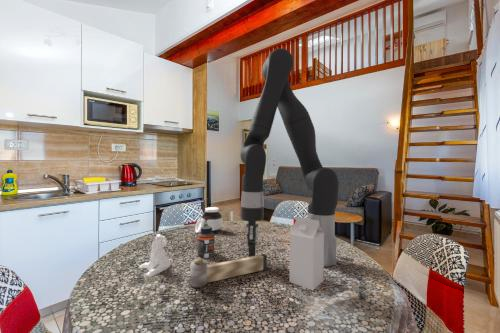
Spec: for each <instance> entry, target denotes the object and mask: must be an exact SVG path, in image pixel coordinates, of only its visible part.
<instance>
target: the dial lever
mask: <svg viewBox="0 0 500 333" xmlns="http://www.w3.org/2000/svg"><path fill="white" fill-rule="evenodd" d="M267 256H268V255H267V254H265V253H262V254H258V255H257V254H256V255H255V256H252V257H249V256H247V257H242V258H237V259H233V260H227V261H221V262H215V263H212V264H208V261H207V260H205V259H204V258H201V257H199V258H195V259H194V260H192V261H191V262H190V277H189V278H190V286H191V287H193V288H202V287H204V286H206V285H207V284H208V283H211V282H213V283H214V282H218V281H221V280H226V279H230V278H234V277H239V276H242V275H247V274H251V273H256V272H260V271H265V270H267V268H268V267H267V266H268V257H267Z"/></svg>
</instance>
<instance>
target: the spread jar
mask: <svg viewBox="0 0 500 333" xmlns="http://www.w3.org/2000/svg"><path fill="white" fill-rule="evenodd" d="M204 210H205V211H204V213H203V214H202V216H201V218H198V219H197V220H196V222H195V226H194V228H195V229H194V230H195V233H197V234H199V233H201V227H203V226H211V227H212V232H213V233H214V234H217V233H218V232H220V231H221V230H222V228H223V216H222V214H221V213H220V209H219V207H216V206H212V207H211V206H210V207H209V206H208V207H205V208H204Z"/></svg>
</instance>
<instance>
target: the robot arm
mask: <svg viewBox="0 0 500 333" xmlns="http://www.w3.org/2000/svg"><path fill="white" fill-rule="evenodd" d="M293 69H294V58H293V55H292V53H291V52H290V51H289V50H287V48H281V47H280V48H279V47H278V48H276V49H274V50H272V51H271V52H270V53H269V54H268V56H267V58H266V59H265V61H264V62H263V64H262V69H261V72H262V76H263V78H264V81H265V82H264V85H263V89H262V91H261V94H260V97H259V99H258V102H257V105H256V107H255V108H254V109H255V110H254V111H253V115H252V118H251V123H250V126H249V129H248V133H247V135H246V137H245V140H244V142H243V145H242V147H241V150H240V160H241V161H242V163H243V164H244V166H245V167H244V174H243V175H242V178H241V196H240V218H241V220H243V221H246V222H248V223H246V226H245V232H246V240H247V241H246V242H247V247H248V257H252V256H256V247H257V240H258V232H259V223H257V222H261V221H262V220H264V216H265V214H264V212H265V211H264V210H265V201H264V200H265V198H264V176H265V170H266V164H267V154H266V151H265V148H264V144H265V142H266V140H268V139H269V137H270V135H271V131H272V128H273V127H272V126H273V124H274V120H275V117H276V112H277V109H278V112H279V115H280V117H281V119H282V123H283V125H284V128H285V131H286V133H287V136H288V138H289V140H290V143H291V145H292V148H293V149H294V152H295V154H296V156H297V159H298V163H299V165H300V169H301V171H302V176H303V180H304V183H305V186H306V187H307V188H308V189H309V191H310V192H312V194H311V201H310V203H308V205H307V219H311V220H317V221H319V225H320V227H321V228H322V230H323V232H324V267H325V268H326V267H331V266H337V240H338V239H337V236H336V234H335V233H336V230H335V229H336V228H335V227H336V224H335V222H336V208H337V206H338V201H339V200H338V199H339V177H338V175H337V173H336V172H335V171H334V170H333V169H332V168H330V167H329V168H327V167H324V166H323V165H322V162H321V160H320V158H319V155H318V152H317V144H316V142H317V139H316V130H315V127H314V123H313V121H312V118H311V116H310V113H309V111H308V110H307V108H306V106H305V105H304V104H303V103H302V102H301V100H300V99H298V98H297V96H296V95H295V93H294V92H293V89H292V87H291V84H290V80H289V77H290V75H291V73H292V71H293Z"/></svg>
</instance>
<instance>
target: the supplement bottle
mask: <svg viewBox="0 0 500 333" xmlns="http://www.w3.org/2000/svg"><path fill="white" fill-rule="evenodd" d="M197 234H198V235H197V257H199V258H202V259H207V258H208V259H209V258H212V257H214V255H215V236H216V235H215V233H213V232H212V227H211V226H203V227H201V232H200V233H197Z"/></svg>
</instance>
